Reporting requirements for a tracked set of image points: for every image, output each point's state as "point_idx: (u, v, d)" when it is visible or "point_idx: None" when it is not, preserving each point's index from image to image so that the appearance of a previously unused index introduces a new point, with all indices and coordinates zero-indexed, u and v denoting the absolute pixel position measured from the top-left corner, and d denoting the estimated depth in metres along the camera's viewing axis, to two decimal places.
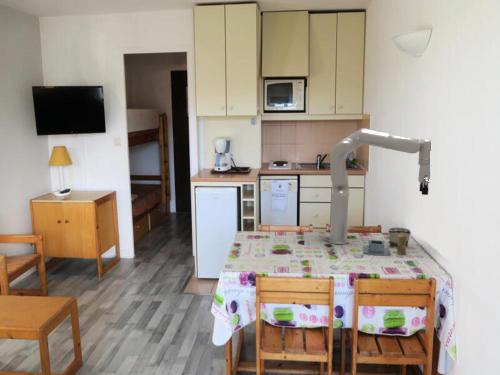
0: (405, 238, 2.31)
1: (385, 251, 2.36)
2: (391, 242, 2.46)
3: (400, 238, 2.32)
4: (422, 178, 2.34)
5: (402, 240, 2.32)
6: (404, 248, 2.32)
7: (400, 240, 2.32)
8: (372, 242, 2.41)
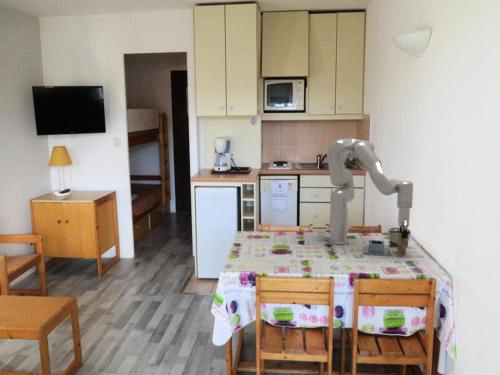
0: None
1: (385, 251, 2.36)
2: (391, 242, 2.46)
3: (400, 238, 2.32)
4: (401, 221, 2.27)
5: (402, 240, 2.32)
6: (404, 248, 2.32)
7: (400, 240, 2.32)
8: (372, 242, 2.41)
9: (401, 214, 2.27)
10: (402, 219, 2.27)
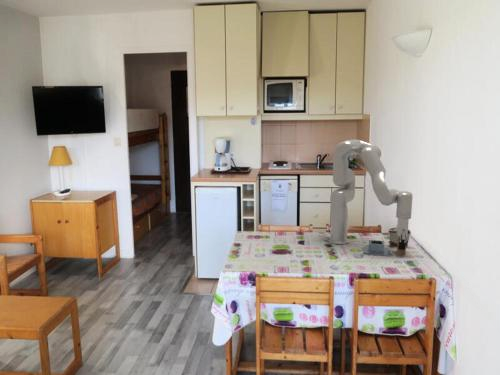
0: None
1: (385, 251, 2.36)
2: (391, 242, 2.46)
3: None
4: (400, 232, 2.28)
5: None
6: None
7: None
8: (372, 242, 2.41)
9: (400, 225, 2.28)
10: (401, 230, 2.28)
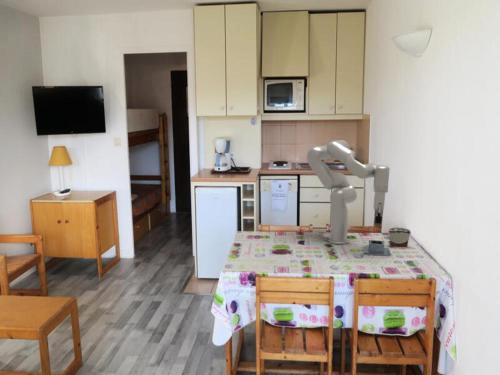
0: None
1: (385, 251, 2.36)
2: (391, 242, 2.46)
3: None
4: (376, 205, 2.29)
5: None
6: None
7: None
8: (372, 242, 2.41)
9: (376, 198, 2.29)
10: (377, 203, 2.29)
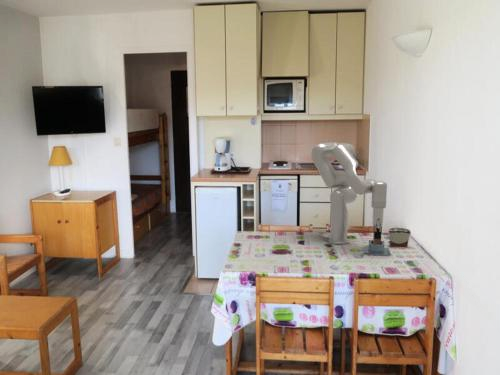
0: None
1: (385, 251, 2.36)
2: (391, 242, 2.46)
3: None
4: (374, 221, 2.30)
5: None
6: None
7: None
8: (372, 242, 2.41)
9: (375, 214, 2.30)
10: (376, 219, 2.30)
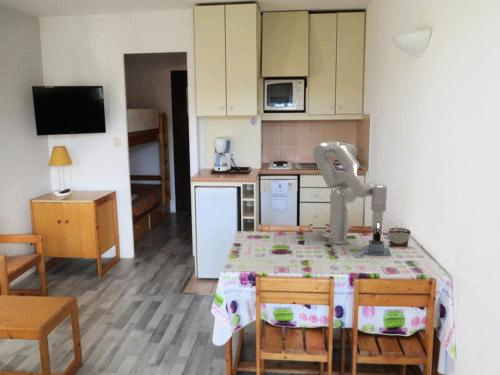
0: None
1: (385, 251, 2.36)
2: (391, 242, 2.46)
3: None
4: (374, 224, 2.31)
5: None
6: None
7: None
8: None
9: (374, 217, 2.31)
10: (375, 222, 2.31)
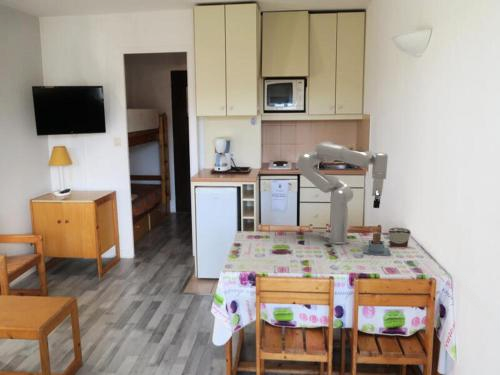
0: (379, 235, 2.34)
1: (385, 251, 2.36)
2: (391, 242, 2.46)
3: (374, 235, 2.35)
4: (374, 191, 2.36)
5: (376, 237, 2.35)
6: None
7: (375, 237, 2.35)
8: None
9: (374, 184, 2.35)
10: (375, 189, 2.35)
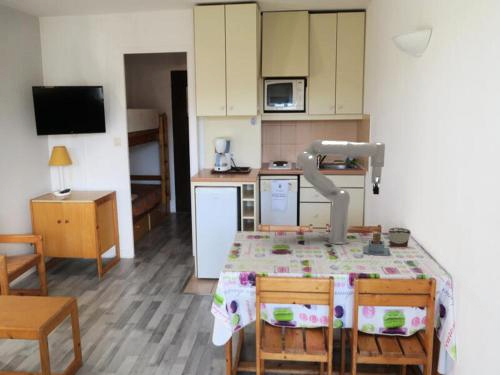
0: (379, 235, 2.34)
1: (385, 251, 2.36)
2: (391, 242, 2.46)
3: (374, 235, 2.35)
4: (373, 179, 2.50)
5: (376, 237, 2.35)
6: None
7: (375, 237, 2.35)
8: None
9: (373, 172, 2.50)
10: (374, 176, 2.50)
